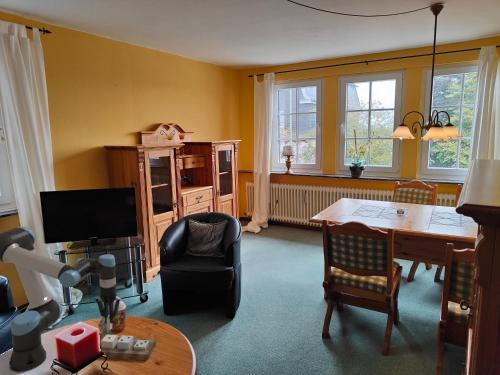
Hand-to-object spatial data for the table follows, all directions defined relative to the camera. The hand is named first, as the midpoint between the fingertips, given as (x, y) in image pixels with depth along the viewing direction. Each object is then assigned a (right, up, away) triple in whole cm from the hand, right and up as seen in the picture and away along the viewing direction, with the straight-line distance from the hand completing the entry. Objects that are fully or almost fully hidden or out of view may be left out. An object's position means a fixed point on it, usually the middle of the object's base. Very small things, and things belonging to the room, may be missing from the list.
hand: (109, 328), depth 175 cm
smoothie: (-3, -9, +21) cm, 23 cm away
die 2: (+8, -10, +1) cm, 13 cm away
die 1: (-1, -9, +1) cm, 10 cm away
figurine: (-7, -10, +12) cm, 17 cm away
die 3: (+16, -12, +1) cm, 20 cm away
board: (+8, -12, +1) cm, 14 cm away
